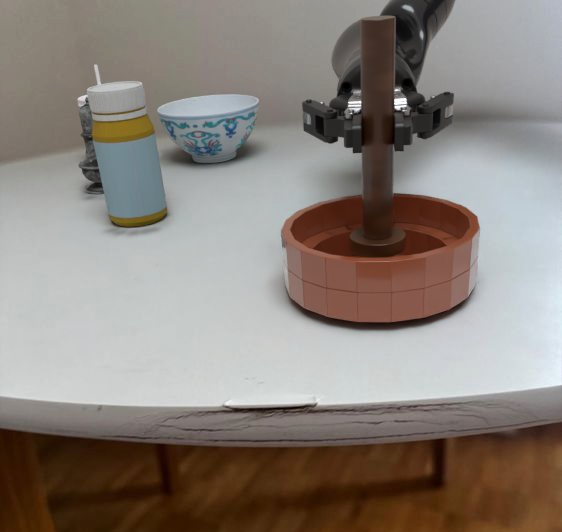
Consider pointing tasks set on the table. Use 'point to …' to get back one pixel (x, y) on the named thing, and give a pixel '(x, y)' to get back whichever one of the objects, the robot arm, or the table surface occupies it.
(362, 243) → the stirring stick
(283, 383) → the table surface
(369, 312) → the bowl
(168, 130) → the chinaware
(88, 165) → the grey tall piece
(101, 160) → the bottle
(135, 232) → the table surface
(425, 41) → the robot arm
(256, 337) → the table surface
